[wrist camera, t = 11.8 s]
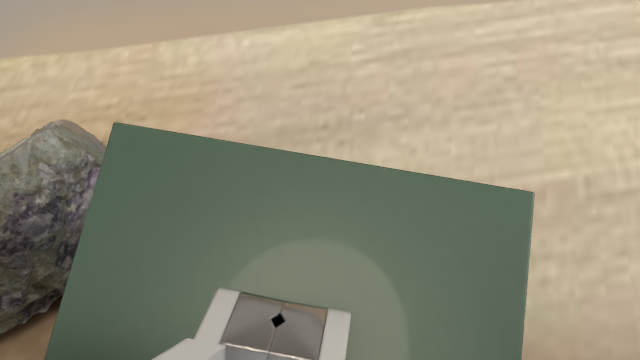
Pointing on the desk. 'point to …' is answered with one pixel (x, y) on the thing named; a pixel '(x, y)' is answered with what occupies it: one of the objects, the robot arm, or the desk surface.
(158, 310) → the bin lid
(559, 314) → the desk surface
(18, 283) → the mineral rock
